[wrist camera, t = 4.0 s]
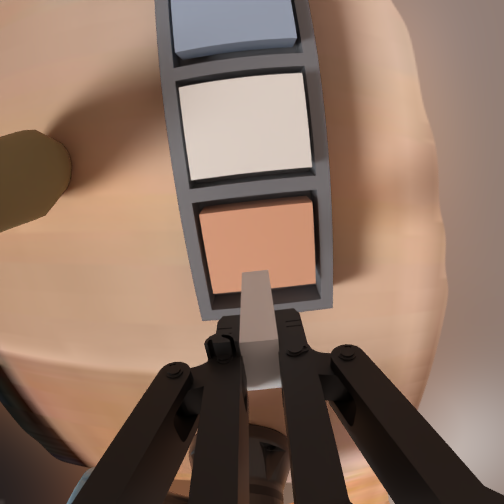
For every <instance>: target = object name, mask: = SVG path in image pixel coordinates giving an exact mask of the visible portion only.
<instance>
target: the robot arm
mask: <svg viewBox="0 0 504 504" xmlns="http://www.w3.org/2000/svg"><path fill="white" fill-rule="evenodd" d="M204 345H205V349H206V353H207V357H208V362H206V363H204V364H203V365H200V366H197V367H193V368H190V367H189V366H188V365H187V364H186V363H183V362H173V363H169V364H167V365H165V366H164V367H163V368H162V369H161V370H160V371H159V373H158V374H157V376H156V377H155V379H154V380H153V382H152V383H151V385H150V386H149V387H148V389H147V390H146V392H145V393H144V395H143V396H142V398H141V399H140V401H139V402H138V404H137V405H136V407H135V408H134V410H133V411H132V413H131V414H130V416H129V417H128V419H127V420H126V422H125V423H124V425H123V426H122V428H121V429H120V431H119V432H118V434H117V435H116V437H115V438H114V440H113V441H112V443H111V444H110V446H109V447H108V449H107V450H106V452H105V453H104V455H103V456H102V458H101V459H100V461H99V462H98V464H97V465H96V467H93V468H90V469H88V470H87V471H86V472H85V474H84V475H83V476H82V478H81V479H80V481H79V482H78V484H77V486H76V488H75V489H74V491H73V493H72V495H71V496H70V498H69V500H68V502H67V504H284V503H283V490H284V487H285V483H286V480H287V477H288V474H289V471H290V469H291V478H292V488H293V497H294V504H352V503H351V502H350V500H349V498H348V494H347V489H346V485H345V480H344V476H343V472H342V467H341V463H340V459H339V455H338V450H337V446H336V442H335V438H334V434H333V430H332V426H331V422H330V418H329V414H328V410H327V406H326V402H325V400H328V401H329V404H330V405H331V407H332V408H333V410H334V411H335V413H336V415H337V416H338V418H339V419H340V421H341V422H342V424H343V425H344V427H345V428H346V430H347V432H348V433H349V435H350V436H351V438H352V439H353V441H354V442H355V444H356V445H357V447H358V448H359V450H360V451H361V453H362V455H363V456H364V458H365V459H366V461H367V462H368V464H369V465H370V467H371V468H372V470H373V471H374V473H375V474H376V476H377V477H378V479H379V480H380V482H381V483H382V485H383V486H384V488H385V489H386V491H387V492H388V494H389V495H390V497H391V498H392V500H393V501H394V503H395V504H504V495H502V494H500V493H497V492H495V491H493V490H491V489H489V488H487V487H485V486H484V485H483V484H482V483H481V482H480V481H479V480H478V479H477V477H476V476H475V475H474V474H473V473H472V472H471V471H470V469H469V468H468V467H467V466H466V465H465V464H464V463H463V461H462V460H461V459H460V458H459V457H458V456H457V455H456V453H455V452H454V451H453V450H452V449H451V448H450V447H449V446H448V444H447V443H445V441H444V440H443V439H442V438H441V437H440V436H439V434H438V433H437V432H436V431H435V430H434V429H433V428H432V426H431V425H430V424H429V423H428V422H427V421H426V420H425V419H424V418H423V416H422V415H421V414H420V413H419V412H418V411H417V410H416V409H415V407H414V406H413V405H412V404H411V403H410V402H409V401H408V400H407V399H406V398H405V396H404V395H403V394H402V393H401V392H400V391H399V390H398V389H397V388H396V387H395V385H394V384H393V383H392V382H391V381H390V380H389V379H388V378H387V377H386V376H385V374H384V373H383V372H382V371H381V370H380V369H379V368H378V367H377V366H376V365H375V363H374V362H373V361H372V360H371V359H370V358H369V357H368V356H367V355H366V354H365V353H364V351H363V350H362V349H360V348H359V347H357V346H354V345H348V344H345V345H340V346H338V347H336V348H334V349H333V351H332V352H331V353H321V352H317V351H314V350H313V349H311V347H310V346H309V345H308V343H307V340H306V336H305V332H304V329H303V326H302V321H301V318H300V314H299V312H297V311H296V310H295V309H294V308H290V309H282V310H274V306H273V299H272V292H271V285H270V278H269V272H268V270H261V271H252V272H242V285H241V309H240V315H231V316H222V318H221V319H220V320H219V321H218V324H217V331H216V334H214V335H212V336H210V337H209V338H208V339H206V341H205V343H204ZM281 387H282V398H283V407H284V415H285V424H286V433H287V438H286V437H285V436H284V435H282V434H281V433H279V432H277V431H275V430H272V429H269V428H265V427H261V426H256V425H249V415H248V395H247V389H248V391H249V390H261V389H271V388H281ZM197 429H198V431H197ZM196 431H197V434H196V435H195V433H196ZM194 435H195V436H194ZM189 446H190V449H189V460H190V465H191V469H192V476H191V485H190V492H189V497H188V496H185V495H181V494H177V493H173V492H170V491H169V488H170V486H171V484H172V482H173V480H174V478H175V476H176V474H177V472H178V470H179V468H180V465H181V463H182V461H183V459H184V457H185V455H186V453H187V451H188V448H189Z"/></svg>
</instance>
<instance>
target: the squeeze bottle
mask: <svg viewBox="0 0 504 504" xmlns="http://www.w3.org/2000/svg"><path fill="white" fill-rule="evenodd" d="M71 166H72V164H71V161H70V157H69V153H68V152H67V150H66V149H65V147H64V146H63V144H61V143H60V142H58V141H56V140H54V139H53V138H51V137H49V136H47V135H45V134H43V133H41V132H39V131H37V130H23V131H19V132H15V133H12V134H8V135H5V136H2V137H0V232H3V231H5V230H8V229H11V228H13V227H16V226H19V225H22V224H25V223H27V222H30V221H33V220H36V219H38V218H40V217H43V216H45V215H46V214H47V213H48V212H49V210H50V209H51V208H52V207H53V205H54V204H55V203H56V202H57V200H58V199H59V198H60V196H61V195H62V194H63V192H64V191H65V190H66V189H67V187H68V184H69V181H70V178H71Z"/></svg>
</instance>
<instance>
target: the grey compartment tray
mask: <svg viewBox="0 0 504 504" xmlns="http://www.w3.org/2000/svg"><path fill="white" fill-rule="evenodd" d="M291 5H292V10H293V16H294V22H295V28H296V34H297V39H296V41H295V43H294V45H293V47H286V48H269V49H256V50H246V51H237V52H229V53H222V54H215V55H209V56H203V57H197V58H192V59H186V60H182V59H181V58H180V57H179V56H178V55H177V54H176V53H175V47H174V36H173V24H172V11H171V0H155V16H156V31H157V44H158V56H159V67H160V77H161V86H162V95H163V104H164V112H165V120H166V127H167V135H168V142H169V149H170V156H171V162H172V169H173V175H174V181H175V187H176V193H177V199H178V205H179V211H180V216H181V222H182V227H183V232H184V238H185V243H186V248H187V253H188V258H189V263H190V268H191V272H192V277H193V282H194V286H195V291H196V295H197V300H198V304H199V309H200V313H201V317H202V321H209V320H220V319H221V318H222V316H231V315H240V309H241V291H239V292H228V293H217V294H213V289H212V284H211V279H210V274H209V268H208V263H207V257H206V252H205V246H204V240H203V235H202V229H201V223H200V217H199V214H200V212H201V211H202V209H203V208H204V207H205V206H213V205H221V204H229V203H238V202H247V201H256V200H265V199H275V198H285V197H296V196H307V197H308V198H309V199H310V200H311V201H312V205H313V223H314V244H315V273H316V283H315V284H306V285H297V286H288V287H279V288H271V292H272V299H273V306H274V310H282V309H290V308H294V309H295V310H296V311H297V312H304V311H312V310H320V309H328V308H333V236H332V205H331V185H330V169H329V155H328V142H327V131H326V120H325V110H324V101H323V93H322V85H321V77H320V69H319V62H318V55H317V49H316V42H315V36H314V30H313V24H312V19H311V13H310V8H309V3H308V0H291ZM291 73H302V76H303V84H304V92H305V100H306V109H307V118H308V128H309V138H310V149H311V161H312V167H306V168H294V169H282V170H272V171H262V172H252V173H243V174H235V175H227V176H219V177H212V178H204V179H197V180H191V176H190V169H189V163H188V156H187V149H186V142H185V134H184V127H183V119H182V111H181V103H180V94H179V87H184V86H189V85H195V84H200V83H206V82H213V81H219V80H226V79H234V78H242V77H252V76H262V75H275V74H291Z"/></svg>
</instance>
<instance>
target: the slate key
mask: <svg viewBox="0 0 504 504" xmlns="http://www.w3.org/2000/svg"><path fill="white" fill-rule="evenodd" d="M171 11H172V24H173V36H174V47H175V53H176V54H177V55H178V56H179V57H180V58H181V59H182V60H186V59H192V58H197V57H203V56H209V55H215V54H222V53H229V52H237V51H246V50H256V49H269V48H286V47H293V45H294V43H295V41H296V39H297V34H296V28H295V22H294V16H293V10H292V5H291V0H171Z"/></svg>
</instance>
